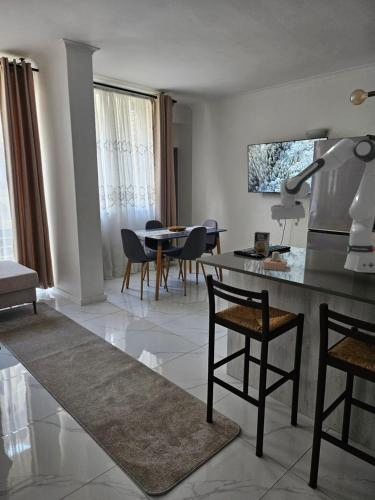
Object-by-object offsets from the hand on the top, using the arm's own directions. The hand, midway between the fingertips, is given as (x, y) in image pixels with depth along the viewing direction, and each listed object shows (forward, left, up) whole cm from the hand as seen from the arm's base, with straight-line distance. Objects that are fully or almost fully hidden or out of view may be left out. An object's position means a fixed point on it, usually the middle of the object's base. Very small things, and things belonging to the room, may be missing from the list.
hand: (288, 226), depth 212 cm
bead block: (+5, +17, -23) cm, 29 cm away
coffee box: (+18, -14, -23) cm, 32 cm away
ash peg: (+5, +17, -23) cm, 29 cm away
